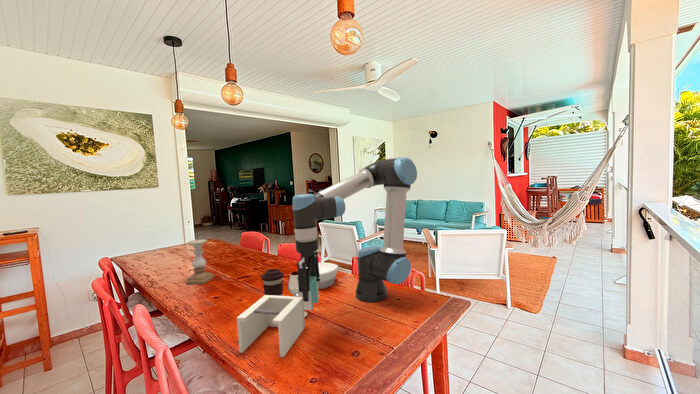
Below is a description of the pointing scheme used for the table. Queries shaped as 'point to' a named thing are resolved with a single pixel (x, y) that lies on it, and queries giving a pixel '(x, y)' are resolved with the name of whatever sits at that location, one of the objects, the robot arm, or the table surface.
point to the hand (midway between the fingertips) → (311, 304)
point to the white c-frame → (272, 321)
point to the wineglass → (294, 286)
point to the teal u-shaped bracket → (313, 290)
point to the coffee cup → (273, 282)
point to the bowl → (326, 274)
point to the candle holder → (199, 265)
